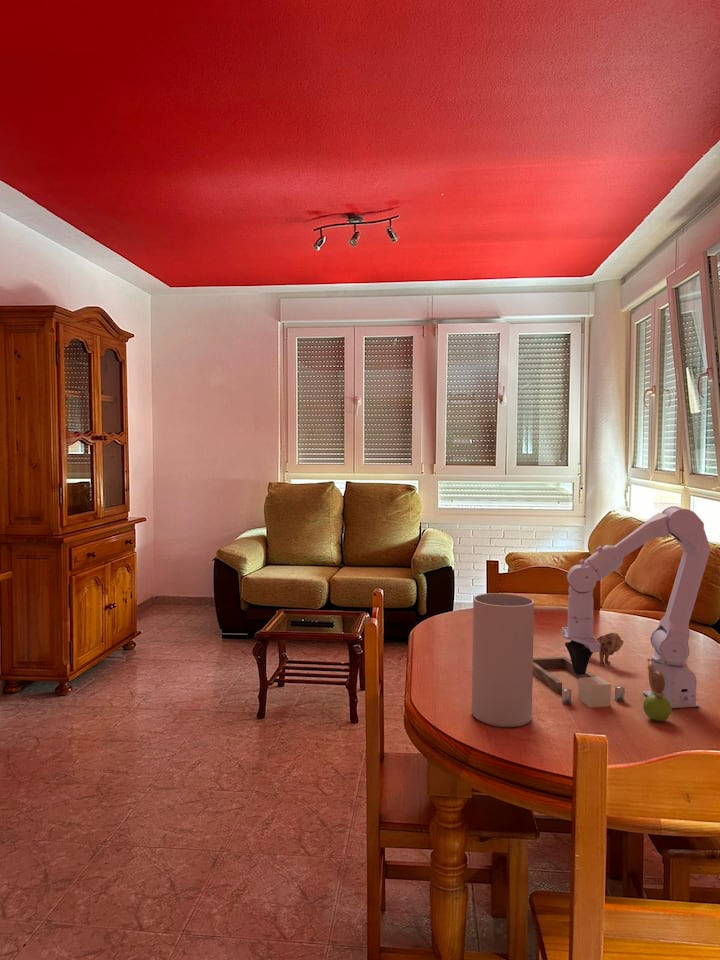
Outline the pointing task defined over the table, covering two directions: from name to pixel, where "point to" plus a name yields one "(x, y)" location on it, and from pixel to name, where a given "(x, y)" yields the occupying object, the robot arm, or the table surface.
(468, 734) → the table surface
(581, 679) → the cube
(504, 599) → the cylinder vase
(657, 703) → the snail figurine
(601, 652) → the lion figurine
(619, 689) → the posts
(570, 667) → the stall
